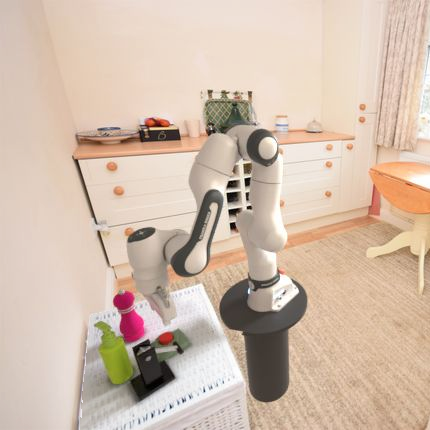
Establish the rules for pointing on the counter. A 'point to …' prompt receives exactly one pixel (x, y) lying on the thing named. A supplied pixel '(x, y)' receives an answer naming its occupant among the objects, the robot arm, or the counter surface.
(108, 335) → the soap dispenser
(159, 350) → the tap lever
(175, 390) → the counter surface
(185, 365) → the counter surface
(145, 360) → the bracket
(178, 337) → the button block
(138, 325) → the pepper mill
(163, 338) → the button
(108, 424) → the counter surface
